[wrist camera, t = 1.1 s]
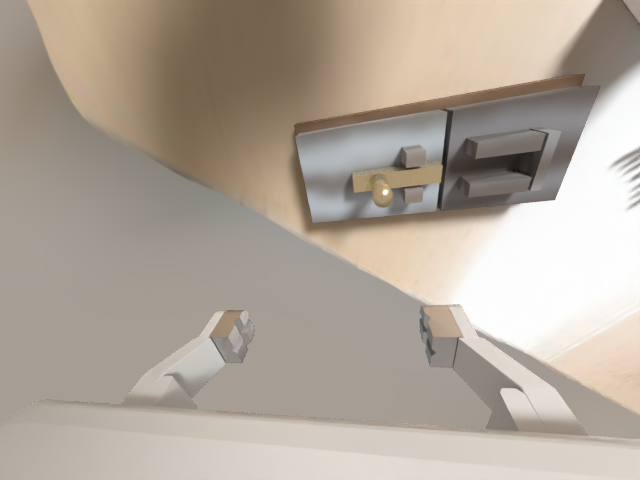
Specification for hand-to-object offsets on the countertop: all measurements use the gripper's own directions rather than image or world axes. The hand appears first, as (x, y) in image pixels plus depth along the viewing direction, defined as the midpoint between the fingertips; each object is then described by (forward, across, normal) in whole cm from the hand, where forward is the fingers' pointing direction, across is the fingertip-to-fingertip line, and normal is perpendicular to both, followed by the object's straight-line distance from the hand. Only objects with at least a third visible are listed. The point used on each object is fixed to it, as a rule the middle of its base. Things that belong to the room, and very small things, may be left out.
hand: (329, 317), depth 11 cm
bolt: (+22, -6, 0) cm, 23 cm away
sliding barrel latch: (+28, -10, 0) cm, 30 cm away
